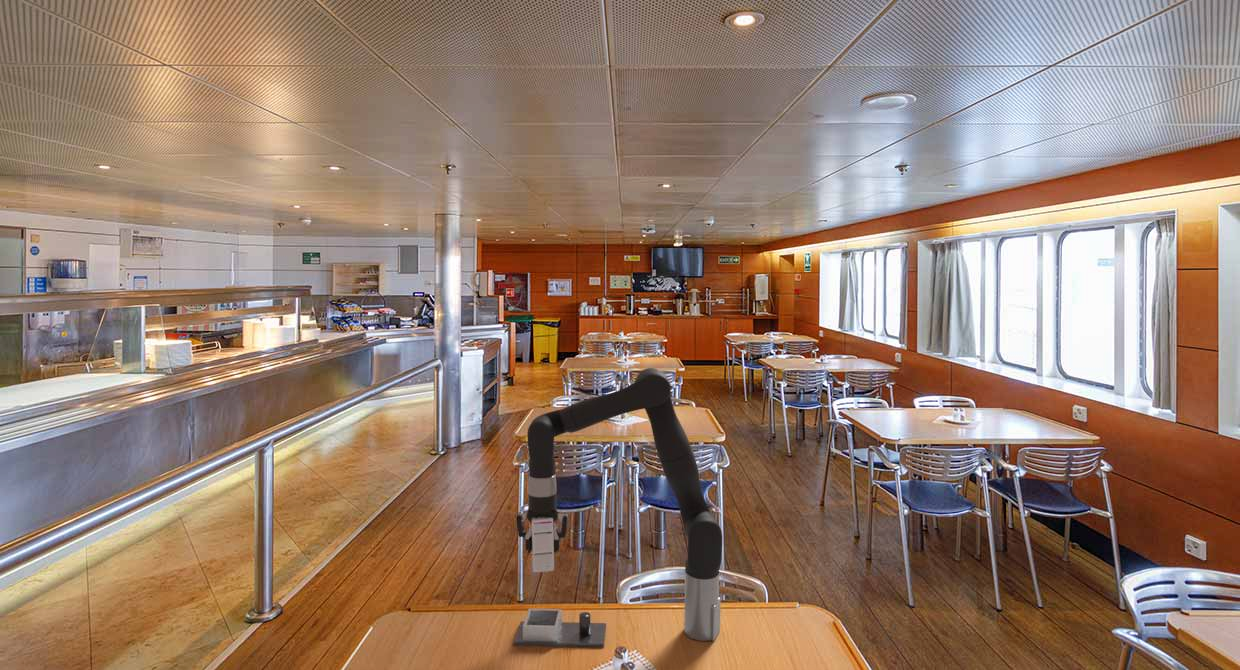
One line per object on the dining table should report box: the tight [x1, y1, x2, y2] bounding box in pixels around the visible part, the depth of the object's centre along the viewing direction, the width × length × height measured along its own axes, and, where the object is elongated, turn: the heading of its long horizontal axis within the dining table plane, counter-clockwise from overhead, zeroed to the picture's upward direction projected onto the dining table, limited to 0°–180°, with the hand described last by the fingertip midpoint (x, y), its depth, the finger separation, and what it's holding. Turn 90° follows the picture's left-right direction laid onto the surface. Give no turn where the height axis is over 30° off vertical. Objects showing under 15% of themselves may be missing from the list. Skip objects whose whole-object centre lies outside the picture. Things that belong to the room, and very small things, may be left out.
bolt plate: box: [513, 608, 607, 648], centre depth 171 cm, size 24×10×6 cm, turn 88°
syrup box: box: [531, 517, 555, 573], centre depth 169 cm, size 6×6×14 cm
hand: (542, 551), depth 169 cm, fingers closed on syrup box, 6 cm apart
